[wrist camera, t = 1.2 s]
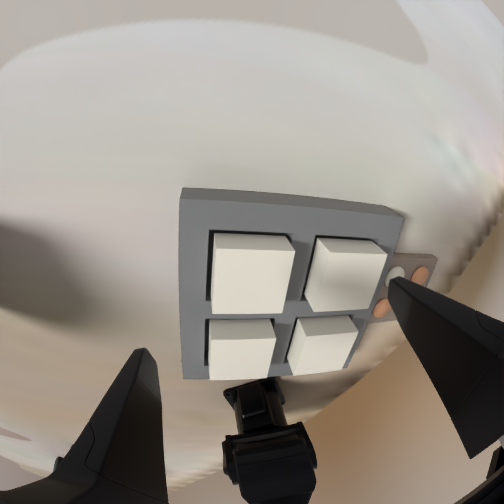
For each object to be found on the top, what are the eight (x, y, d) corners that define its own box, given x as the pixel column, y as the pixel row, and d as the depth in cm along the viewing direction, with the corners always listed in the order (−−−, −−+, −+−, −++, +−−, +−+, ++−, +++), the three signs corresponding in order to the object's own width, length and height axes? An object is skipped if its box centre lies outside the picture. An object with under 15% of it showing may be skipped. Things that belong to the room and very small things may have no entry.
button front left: (274, 294, 23) (282, 313, 20) (210, 294, 22) (212, 313, 19) (285, 236, 20) (295, 251, 18) (214, 232, 19) (216, 248, 17)
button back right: (332, 352, 27) (341, 369, 25) (286, 357, 26) (293, 375, 24) (347, 315, 25) (358, 331, 23) (297, 317, 24) (306, 336, 22)
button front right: (355, 292, 24) (368, 308, 22) (304, 294, 23) (313, 312, 21) (372, 240, 22) (387, 254, 20) (317, 237, 21) (330, 252, 19)
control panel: (337, 349, 31) (346, 367, 28) (183, 356, 28) (183, 378, 25) (385, 206, 24) (404, 218, 21) (182, 187, 20) (179, 199, 18)
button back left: (261, 358, 26) (266, 377, 24) (208, 360, 25) (209, 380, 23) (269, 318, 24) (276, 338, 22) (209, 319, 23) (211, 339, 21)
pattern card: (408, 312, 31) (413, 319, 30) (355, 318, 29) (361, 325, 28) (432, 254, 27) (439, 260, 26) (379, 252, 26) (386, 258, 25)
